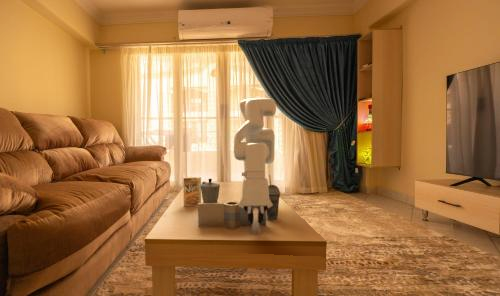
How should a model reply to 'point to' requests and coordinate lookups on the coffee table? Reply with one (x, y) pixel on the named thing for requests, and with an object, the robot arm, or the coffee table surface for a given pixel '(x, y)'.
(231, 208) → the hinge
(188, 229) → the coffee table surface
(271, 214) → the beverage cup
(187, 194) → the candy box
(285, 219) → the coffee table surface
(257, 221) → the steel pin
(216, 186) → the coffeepot
